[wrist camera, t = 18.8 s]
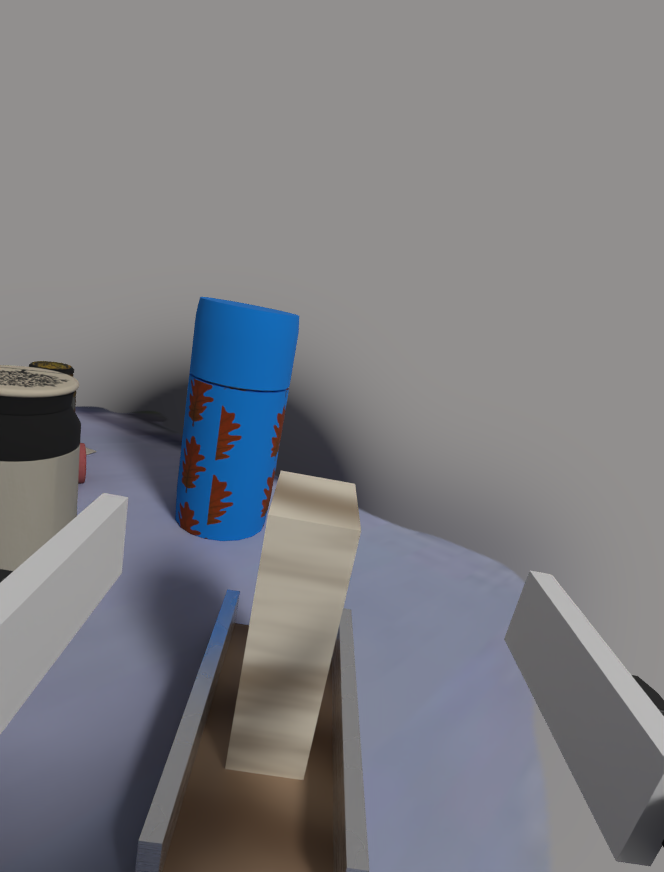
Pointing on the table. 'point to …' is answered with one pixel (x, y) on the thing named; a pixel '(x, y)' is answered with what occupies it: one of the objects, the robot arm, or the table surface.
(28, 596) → the robot arm
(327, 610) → the pale wooden block
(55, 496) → the travel mug
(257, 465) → the thermos
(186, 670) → the table surface
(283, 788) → the floor track
